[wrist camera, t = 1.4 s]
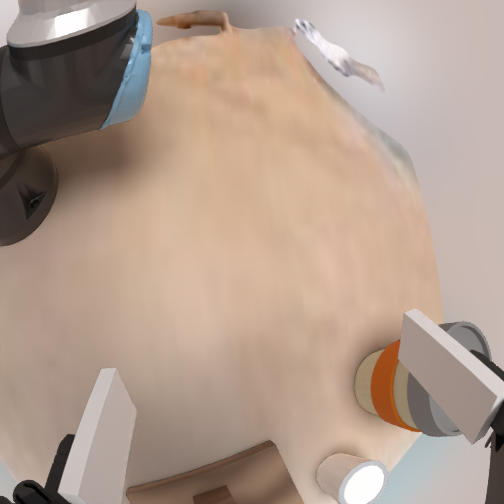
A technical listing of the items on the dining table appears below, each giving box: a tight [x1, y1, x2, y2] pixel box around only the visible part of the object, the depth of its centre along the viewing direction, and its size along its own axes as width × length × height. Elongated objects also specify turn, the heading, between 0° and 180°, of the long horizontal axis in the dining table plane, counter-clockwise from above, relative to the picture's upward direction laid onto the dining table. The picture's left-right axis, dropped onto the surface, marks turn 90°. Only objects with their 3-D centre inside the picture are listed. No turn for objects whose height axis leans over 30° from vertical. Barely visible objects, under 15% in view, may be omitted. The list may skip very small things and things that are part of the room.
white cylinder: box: [316, 453, 388, 504], centre depth 27 cm, size 7×7×7 cm
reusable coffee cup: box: [354, 322, 492, 437], centre depth 29 cm, size 13×13×15 cm
